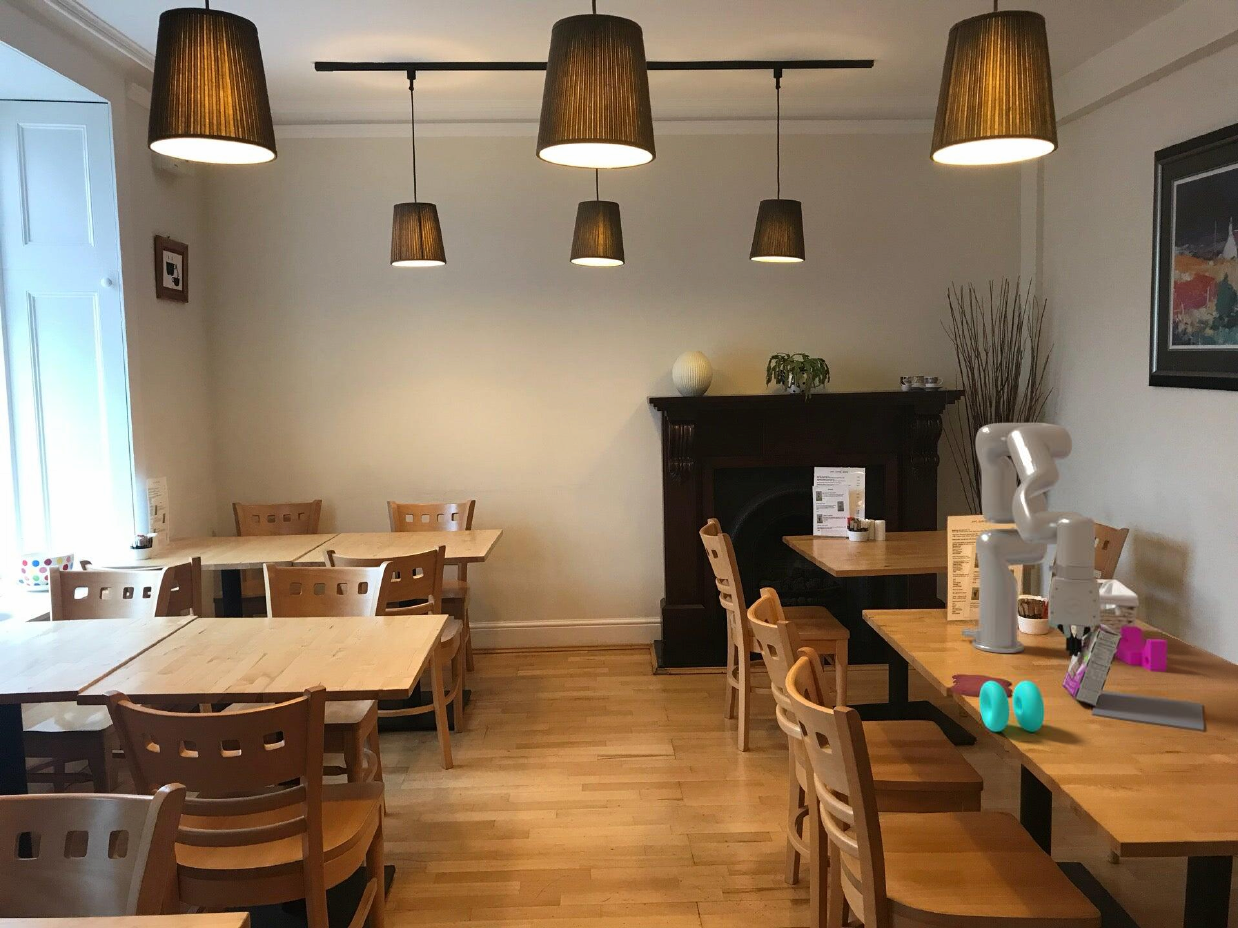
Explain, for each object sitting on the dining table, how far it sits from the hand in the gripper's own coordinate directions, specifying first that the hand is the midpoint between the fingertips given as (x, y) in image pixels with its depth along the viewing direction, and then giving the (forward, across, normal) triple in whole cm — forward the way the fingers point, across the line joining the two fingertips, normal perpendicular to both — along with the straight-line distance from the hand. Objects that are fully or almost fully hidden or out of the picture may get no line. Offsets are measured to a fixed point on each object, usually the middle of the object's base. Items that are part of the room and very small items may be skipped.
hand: (1073, 654), depth 206 cm
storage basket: (+10, 0, +61) cm, 62 cm away
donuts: (+10, -9, -26) cm, 29 cm away
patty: (+11, -19, -1) cm, 22 cm away
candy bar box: (+9, +1, 0) cm, 9 cm away
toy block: (+11, +11, +40) cm, 43 cm away
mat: (+10, +14, 0) cm, 18 cm away
